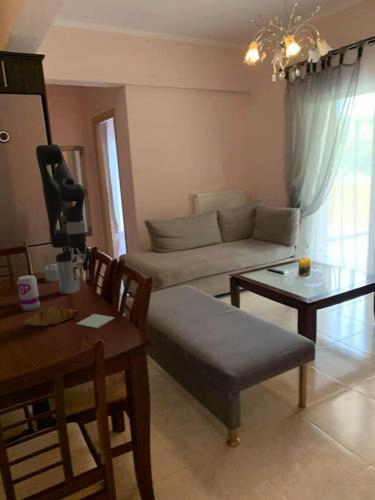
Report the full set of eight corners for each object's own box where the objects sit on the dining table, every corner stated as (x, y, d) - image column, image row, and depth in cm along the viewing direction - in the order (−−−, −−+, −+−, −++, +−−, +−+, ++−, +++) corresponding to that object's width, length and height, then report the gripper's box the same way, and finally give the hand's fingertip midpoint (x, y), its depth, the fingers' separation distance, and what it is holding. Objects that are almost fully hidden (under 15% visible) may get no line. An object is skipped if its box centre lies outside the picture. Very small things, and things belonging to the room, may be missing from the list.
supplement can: (33, 311, 170) (29, 279, 167) (17, 310, 172) (12, 279, 169) (43, 304, 178) (39, 274, 175) (28, 304, 180) (23, 274, 177)
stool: (81, 277, 168) (79, 260, 166) (90, 278, 166) (88, 261, 164) (73, 280, 163) (71, 263, 162) (82, 281, 161) (80, 264, 159)
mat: (94, 314, 162) (94, 314, 162) (114, 318, 157) (114, 317, 157) (76, 324, 153) (76, 323, 153) (97, 328, 148) (97, 327, 148)
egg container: (63, 275, 231) (61, 261, 230) (64, 280, 219) (62, 266, 218) (45, 277, 228) (43, 263, 226) (45, 282, 216) (43, 268, 214)
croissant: (27, 336, 152) (24, 323, 147) (25, 318, 159) (22, 305, 154) (80, 325, 159) (79, 312, 154) (76, 308, 167) (75, 295, 162)
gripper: (95, 230, 160) (99, 268, 164) (70, 229, 166) (74, 266, 170) (83, 233, 153) (87, 273, 157) (57, 232, 160) (62, 270, 164)
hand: (80, 269), depth 164 cm, fingers closed on stool, 5 cm apart
